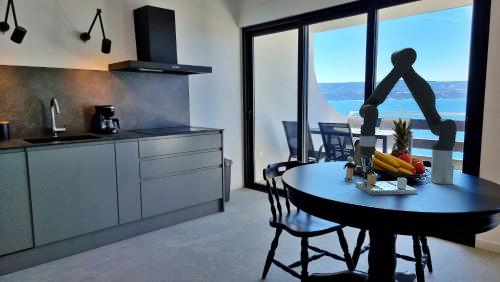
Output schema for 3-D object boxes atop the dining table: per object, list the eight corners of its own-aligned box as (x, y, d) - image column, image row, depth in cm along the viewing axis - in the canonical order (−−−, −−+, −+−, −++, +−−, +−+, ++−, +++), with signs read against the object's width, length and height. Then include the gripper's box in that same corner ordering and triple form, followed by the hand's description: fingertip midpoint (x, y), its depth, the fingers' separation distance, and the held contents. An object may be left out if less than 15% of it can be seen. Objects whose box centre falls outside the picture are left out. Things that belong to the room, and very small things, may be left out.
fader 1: (373, 182, 163) (373, 173, 163) (375, 184, 160) (376, 174, 160) (367, 182, 163) (367, 173, 162) (369, 184, 160) (370, 174, 159)
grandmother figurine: (341, 179, 181) (342, 156, 180) (343, 177, 185) (344, 155, 183) (356, 180, 178) (357, 157, 176) (357, 179, 181) (358, 156, 180)
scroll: (342, 172, 199) (343, 139, 197) (361, 170, 205) (362, 138, 203) (360, 177, 185) (361, 142, 183) (380, 175, 192) (381, 140, 189)
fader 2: (402, 186, 154) (403, 177, 154) (406, 188, 151) (406, 178, 151) (396, 187, 154) (397, 177, 154) (400, 188, 151) (400, 178, 151)
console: (397, 184, 168) (397, 180, 168) (416, 193, 151) (417, 189, 151) (355, 185, 166) (355, 181, 166) (370, 194, 149) (370, 190, 149)
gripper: (380, 146, 159) (379, 181, 161) (368, 143, 172) (367, 176, 174) (365, 146, 159) (364, 182, 160) (354, 143, 172) (353, 176, 174)
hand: (366, 178), depth 167 cm, fingers closed
